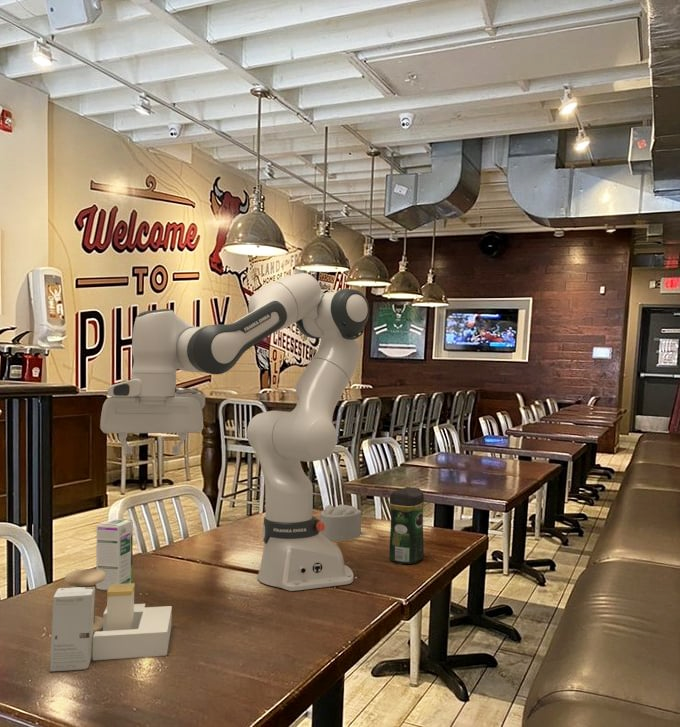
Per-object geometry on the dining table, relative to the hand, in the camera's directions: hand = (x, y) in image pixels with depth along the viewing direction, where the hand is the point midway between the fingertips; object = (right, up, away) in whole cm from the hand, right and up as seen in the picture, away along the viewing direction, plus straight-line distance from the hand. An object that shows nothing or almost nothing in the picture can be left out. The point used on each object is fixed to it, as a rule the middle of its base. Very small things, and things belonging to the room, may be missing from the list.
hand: (152, 455), depth 131 cm
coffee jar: (+56, -33, +35) cm, 74 cm away
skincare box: (-6, -31, -26) cm, 41 cm away
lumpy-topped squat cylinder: (+38, -32, +58) cm, 76 cm away
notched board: (+2, -31, -17) cm, 35 cm away
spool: (-10, -31, -11) cm, 34 cm away
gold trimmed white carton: (-1, -31, -17) cm, 36 cm away
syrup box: (-12, -31, +12) cm, 35 cm away
